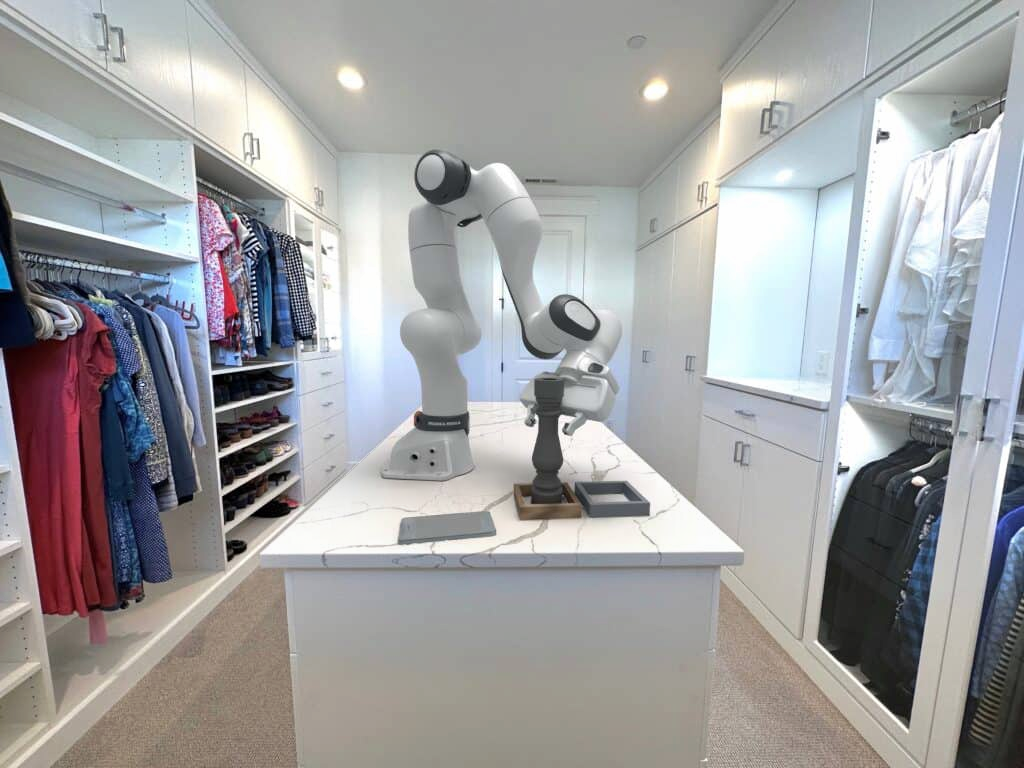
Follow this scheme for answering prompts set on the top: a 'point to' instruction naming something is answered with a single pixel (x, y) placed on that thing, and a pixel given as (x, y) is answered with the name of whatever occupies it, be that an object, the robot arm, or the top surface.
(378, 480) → the top surface
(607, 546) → the top surface
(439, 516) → the phone
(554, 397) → the candle holder
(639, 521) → the top surface
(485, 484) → the top surface
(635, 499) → the charcoal frame
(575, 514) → the walnut frame
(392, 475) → the robot arm
